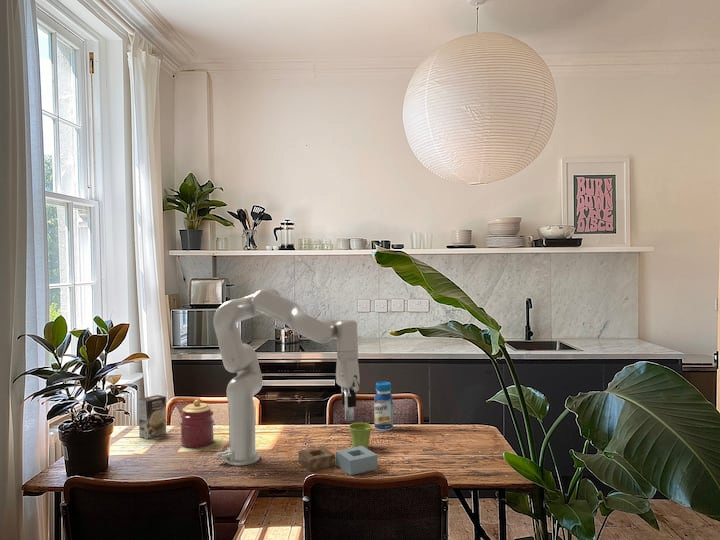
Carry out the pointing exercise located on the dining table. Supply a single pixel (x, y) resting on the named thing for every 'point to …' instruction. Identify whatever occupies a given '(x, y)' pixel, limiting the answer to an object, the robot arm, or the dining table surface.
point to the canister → (197, 425)
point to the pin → (348, 411)
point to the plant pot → (360, 434)
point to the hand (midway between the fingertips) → (349, 405)
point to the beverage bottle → (383, 407)
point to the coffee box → (152, 416)
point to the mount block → (316, 458)
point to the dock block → (356, 460)
